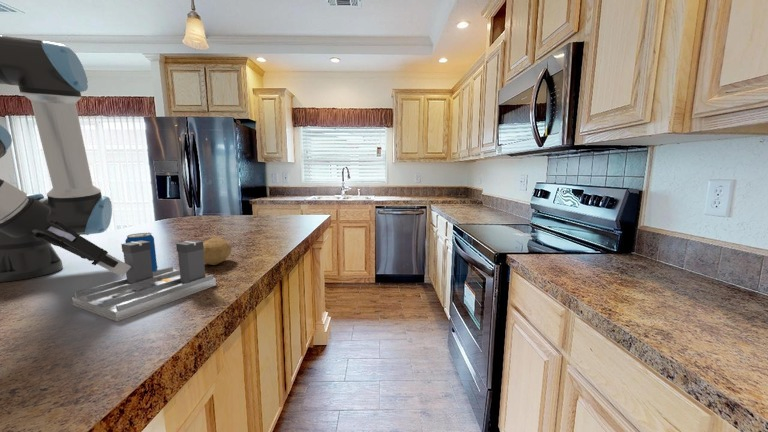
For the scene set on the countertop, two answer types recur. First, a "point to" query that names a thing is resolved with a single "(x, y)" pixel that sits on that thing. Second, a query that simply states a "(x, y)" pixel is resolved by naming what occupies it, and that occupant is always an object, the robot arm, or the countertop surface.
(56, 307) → the countertop surface
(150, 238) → the beverage can
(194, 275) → the fader far
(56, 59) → the robot arm
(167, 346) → the countertop surface
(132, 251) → the fader near
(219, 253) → the potato
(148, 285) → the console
